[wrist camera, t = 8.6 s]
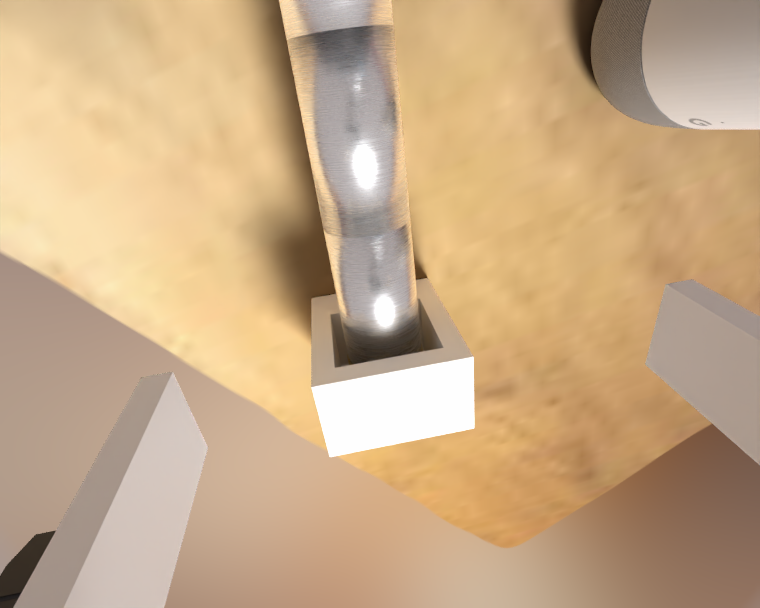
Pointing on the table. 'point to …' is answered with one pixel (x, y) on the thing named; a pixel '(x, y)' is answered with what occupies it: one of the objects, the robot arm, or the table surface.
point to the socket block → (391, 381)
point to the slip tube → (358, 166)
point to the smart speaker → (680, 61)
